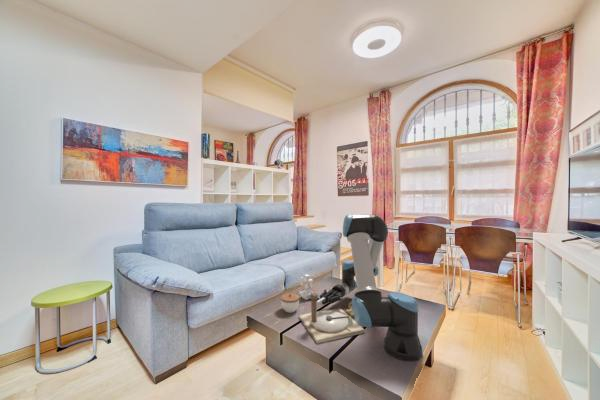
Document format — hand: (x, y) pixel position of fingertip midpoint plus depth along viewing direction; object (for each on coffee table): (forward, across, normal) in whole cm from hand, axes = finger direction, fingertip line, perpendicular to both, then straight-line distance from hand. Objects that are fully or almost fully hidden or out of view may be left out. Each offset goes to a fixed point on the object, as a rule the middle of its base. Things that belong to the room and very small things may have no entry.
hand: (317, 304), depth 127 cm
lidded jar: (+1, +19, -9) cm, 21 cm away
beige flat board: (0, -7, -9) cm, 11 cm away
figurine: (-18, +22, -9) cm, 30 cm away
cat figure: (-26, -17, -9) cm, 32 cm away
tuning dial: (-1, -8, -7) cm, 10 cm away
